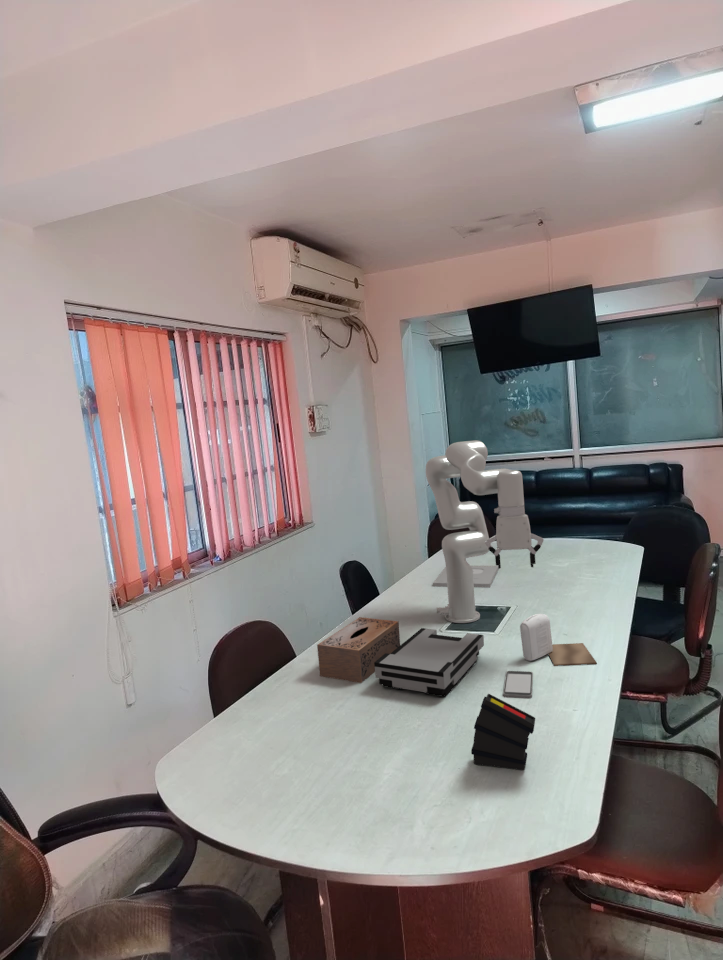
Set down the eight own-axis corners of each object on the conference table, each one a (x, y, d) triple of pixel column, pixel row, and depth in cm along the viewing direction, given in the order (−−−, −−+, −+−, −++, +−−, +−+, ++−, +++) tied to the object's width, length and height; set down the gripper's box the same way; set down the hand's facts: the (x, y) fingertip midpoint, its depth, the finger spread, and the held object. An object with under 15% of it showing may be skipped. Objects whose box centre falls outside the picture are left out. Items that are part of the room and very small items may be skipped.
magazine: (461, 747, 138) (486, 691, 134) (517, 778, 135) (545, 721, 131) (457, 756, 135) (484, 699, 131) (515, 788, 131) (544, 730, 127)
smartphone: (533, 671, 176) (531, 695, 162) (533, 675, 176) (532, 699, 162) (506, 670, 178) (502, 694, 164) (506, 674, 178) (503, 698, 164)
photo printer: (544, 648, 192) (539, 609, 191) (555, 651, 189) (550, 612, 188) (521, 659, 187) (516, 619, 186) (532, 662, 183) (527, 622, 182)
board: (554, 665, 180) (554, 664, 180) (543, 646, 195) (543, 644, 195) (596, 664, 179) (596, 662, 179) (582, 644, 194) (582, 643, 194)
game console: (484, 656, 191) (483, 631, 191) (445, 702, 164) (443, 672, 163) (423, 648, 202) (421, 624, 201) (376, 690, 174) (374, 662, 174)
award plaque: (433, 587, 270) (432, 582, 270) (447, 569, 298) (446, 565, 298) (490, 588, 262) (489, 583, 262) (499, 570, 290) (498, 565, 290)
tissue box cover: (362, 645, 209) (359, 617, 208) (400, 651, 201) (398, 621, 200) (320, 676, 186) (317, 644, 185) (361, 683, 179) (358, 650, 178)
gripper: (482, 515, 185) (486, 571, 187) (542, 511, 182) (546, 568, 183) (482, 511, 193) (486, 565, 194) (540, 507, 189) (544, 563, 190)
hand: (515, 567), depth 189 cm, fingers open, 9 cm apart
